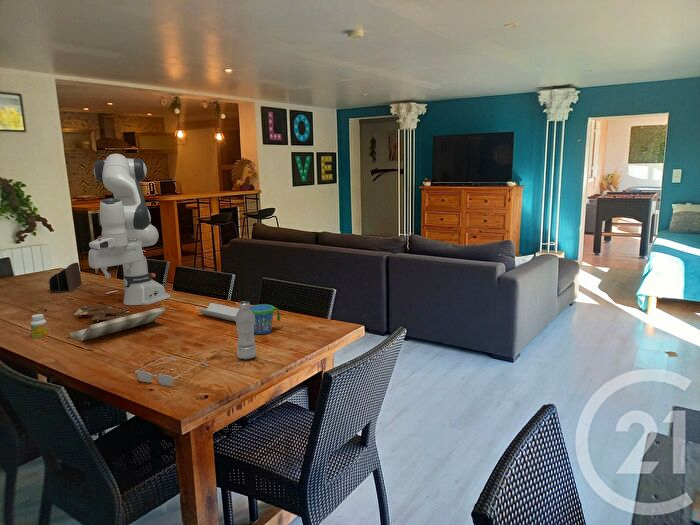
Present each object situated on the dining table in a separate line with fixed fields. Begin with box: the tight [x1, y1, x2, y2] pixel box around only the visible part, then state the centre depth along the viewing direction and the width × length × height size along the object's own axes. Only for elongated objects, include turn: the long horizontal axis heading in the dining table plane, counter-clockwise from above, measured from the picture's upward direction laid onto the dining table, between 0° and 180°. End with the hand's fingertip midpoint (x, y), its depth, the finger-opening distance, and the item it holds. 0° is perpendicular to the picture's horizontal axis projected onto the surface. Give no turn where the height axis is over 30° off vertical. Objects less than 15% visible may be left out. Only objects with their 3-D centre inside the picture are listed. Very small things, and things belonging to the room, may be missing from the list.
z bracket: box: [195, 302, 239, 323], centre depth 219 cm, size 12×25×6 cm
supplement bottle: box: [30, 313, 49, 339], centre depth 194 cm, size 5×5×10 cm
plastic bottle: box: [235, 300, 257, 360], centre depth 170 cm, size 6×7×20 cm
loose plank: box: [80, 306, 166, 342], centre depth 196 cm, size 30×12×2 cm
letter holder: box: [48, 262, 83, 294], centre depth 277 cm, size 10×20×14 cm, turn 11°
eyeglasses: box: [134, 356, 209, 387], centre depth 160 cm, size 15×18×4 cm
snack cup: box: [250, 303, 281, 335], centre depth 198 cm, size 16×10×10 cm
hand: (119, 276), depth 193 cm, fingers open, 7 cm apart
